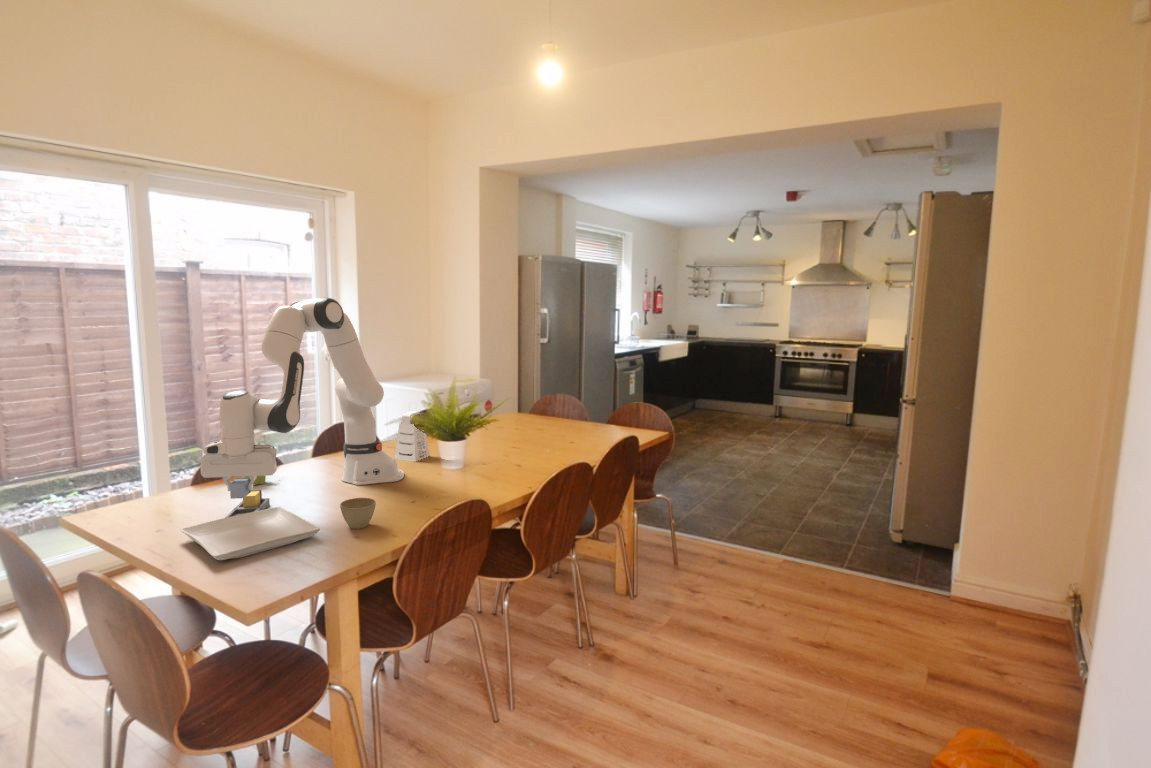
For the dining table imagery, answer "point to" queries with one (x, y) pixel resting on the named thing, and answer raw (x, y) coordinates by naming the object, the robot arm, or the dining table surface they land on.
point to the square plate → (250, 533)
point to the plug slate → (239, 488)
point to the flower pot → (358, 511)
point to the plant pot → (258, 479)
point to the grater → (410, 440)
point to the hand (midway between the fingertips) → (240, 490)
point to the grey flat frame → (249, 508)
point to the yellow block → (253, 499)
